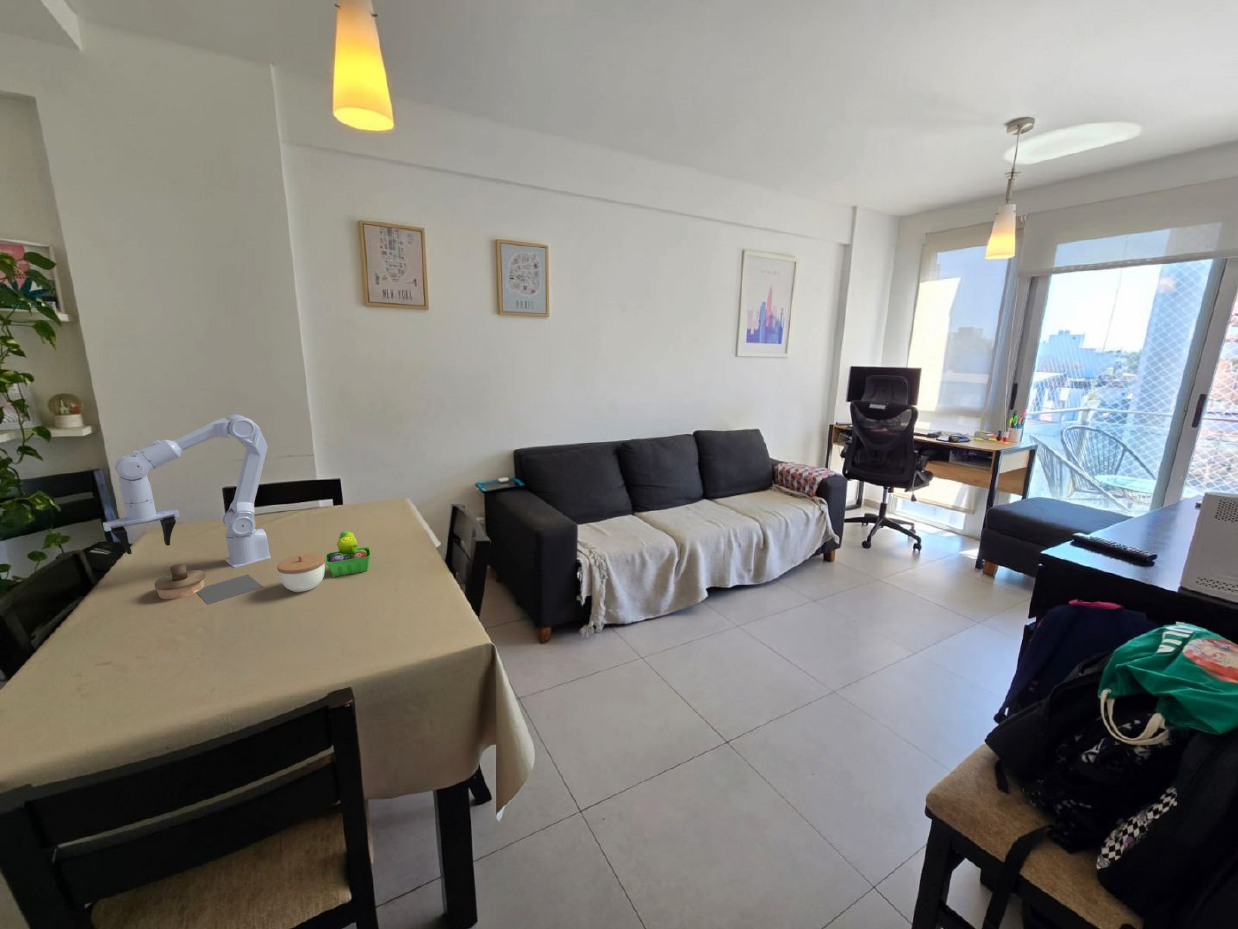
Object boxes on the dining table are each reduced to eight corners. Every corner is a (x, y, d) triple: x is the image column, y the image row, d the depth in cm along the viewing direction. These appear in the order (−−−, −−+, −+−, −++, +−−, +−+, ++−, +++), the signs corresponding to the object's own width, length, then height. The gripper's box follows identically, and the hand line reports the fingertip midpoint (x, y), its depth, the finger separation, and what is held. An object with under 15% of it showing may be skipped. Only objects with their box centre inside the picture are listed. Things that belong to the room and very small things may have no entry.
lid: (209, 570, 136) (206, 555, 135) (200, 585, 127) (197, 570, 126) (161, 577, 131) (158, 562, 130) (149, 593, 123) (145, 577, 122)
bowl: (198, 580, 136) (196, 570, 136) (208, 590, 131) (206, 579, 130) (155, 592, 129) (153, 581, 129) (164, 603, 124) (161, 592, 123)
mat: (247, 575, 140) (247, 574, 140) (263, 588, 133) (263, 587, 133) (194, 591, 131) (193, 589, 131) (208, 605, 124) (207, 604, 124)
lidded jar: (336, 584, 136) (332, 552, 134) (297, 601, 127) (293, 567, 125) (311, 576, 141) (307, 545, 139) (272, 592, 131) (267, 559, 129)
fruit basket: (327, 579, 139) (322, 542, 136) (328, 567, 146) (324, 531, 144) (372, 572, 144) (368, 536, 141) (371, 560, 152) (368, 526, 149)
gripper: (170, 491, 138) (179, 537, 141) (96, 504, 126) (108, 553, 129) (177, 496, 133) (186, 543, 137) (101, 509, 122) (113, 560, 125)
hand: (148, 548), depth 133 cm, fingers open, 7 cm apart
